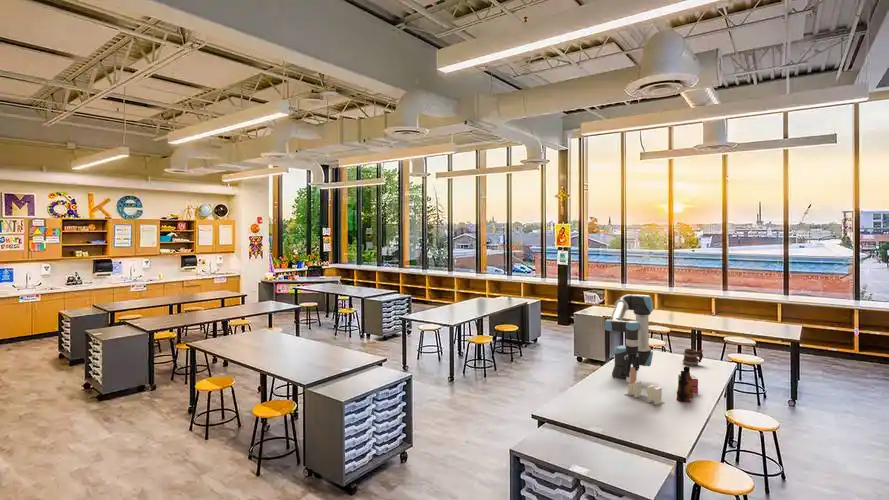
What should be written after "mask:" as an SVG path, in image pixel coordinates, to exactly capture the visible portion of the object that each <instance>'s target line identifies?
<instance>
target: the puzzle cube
mask: <svg viewBox="0 0 889 500" xmlns="http://www.w3.org/2000/svg"><path fill="white" fill-rule="evenodd" d="M680 376H681V373H679V374H678V376H677V377H678V378H677V379H678V380H679V379H680ZM690 376H691V377H692V389H693V391H692V392H693V394H698V393H699V379H698V378H697V377H696V375H694V374H690ZM678 380H677V381H678ZM678 383H679V382H678ZM678 383H677V384H678Z"/></svg>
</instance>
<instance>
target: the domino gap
mask: <svg viewBox="0 0 889 500" xmlns="http://www.w3.org/2000/svg"><path fill="white" fill-rule="evenodd" d="M630 372H631V382H627V385H628V384H632V383H635V382H636V381H635V367H633V366H631V368H630Z"/></svg>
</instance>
